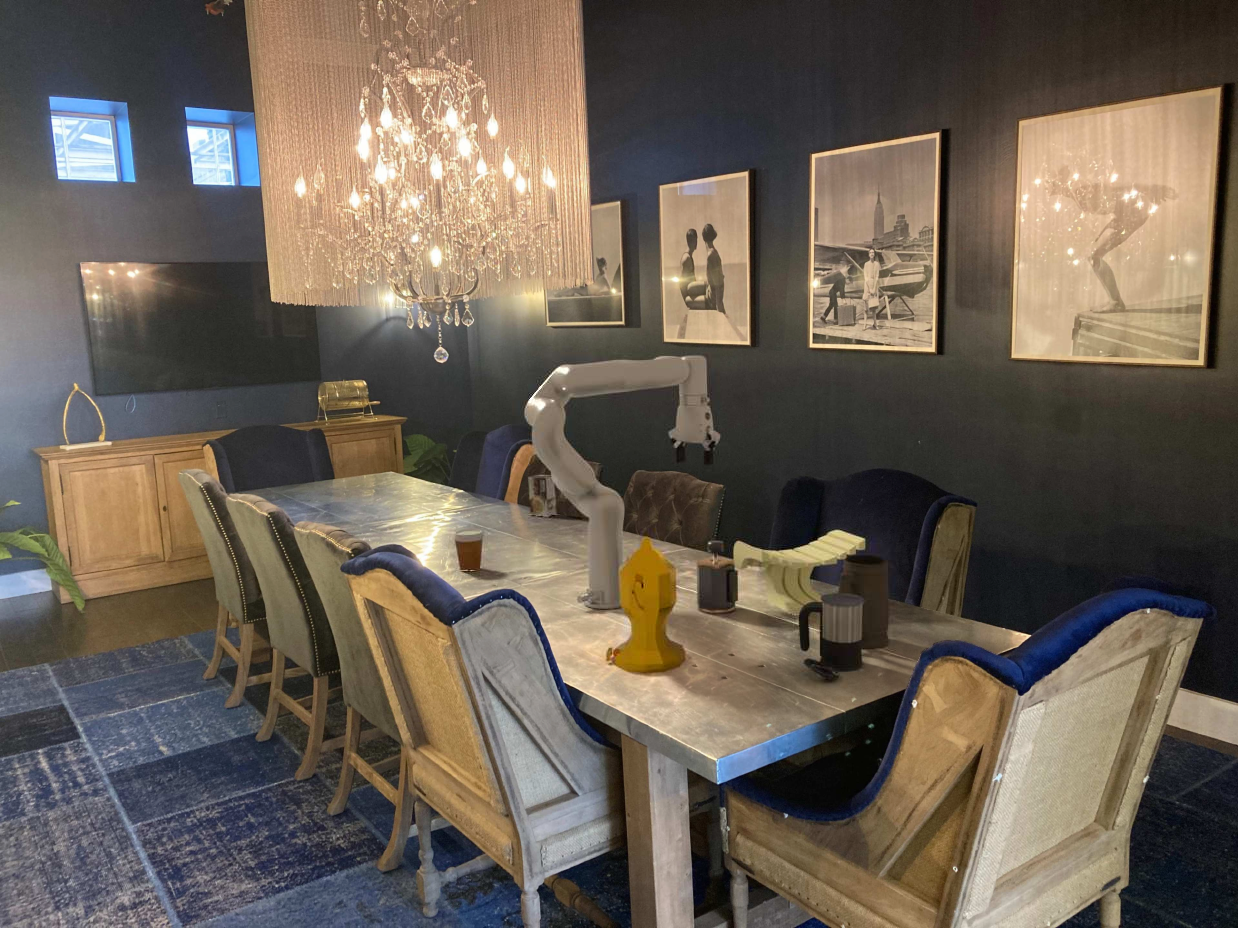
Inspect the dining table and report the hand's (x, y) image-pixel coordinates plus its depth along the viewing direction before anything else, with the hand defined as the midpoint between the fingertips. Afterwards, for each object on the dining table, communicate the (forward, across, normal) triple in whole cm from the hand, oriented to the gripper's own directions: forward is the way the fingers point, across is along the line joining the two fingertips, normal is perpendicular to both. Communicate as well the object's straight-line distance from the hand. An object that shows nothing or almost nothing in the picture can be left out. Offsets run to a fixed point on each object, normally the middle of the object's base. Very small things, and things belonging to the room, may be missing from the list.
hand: (694, 463), depth 264 cm
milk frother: (+36, -62, +31) cm, 78 cm away
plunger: (+34, -15, +10) cm, 38 cm away
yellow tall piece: (+36, -26, +51) cm, 68 cm away
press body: (+36, -15, +10) cm, 40 cm away
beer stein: (+36, -58, +12) cm, 69 cm away
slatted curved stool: (+36, -29, -6) cm, 47 cm away
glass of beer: (+36, +72, +23) cm, 84 cm away
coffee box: (+36, +119, -51) cm, 134 cm away
